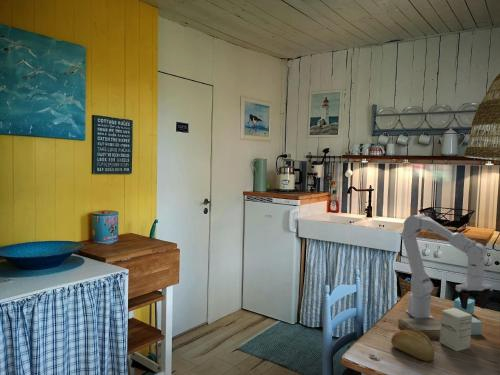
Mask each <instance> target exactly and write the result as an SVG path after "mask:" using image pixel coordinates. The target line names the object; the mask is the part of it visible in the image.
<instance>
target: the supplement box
mask: <svg viewBox="0 0 500 375" xmlns="http://www.w3.org/2000/svg"><path fill="white" fill-rule="evenodd" d="M472 317H473V314H468V313H466V312H463V311H461V310H459V309H456V308H454V307H452V308H447V309H442V310H441V318H440V319H441V320H440V323H441V329H440V338H439V343H440V344H442V345H443V346H446V347H448V348H450V349H451V350H453V351H455V352H459V351H463V350H466V349H470V348H471V345H470V344H471V337H472V336H471V324H472Z"/></svg>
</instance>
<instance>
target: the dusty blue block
mask: <svg viewBox="0 0 500 375" xmlns="http://www.w3.org/2000/svg"><path fill="white" fill-rule="evenodd" d="M482 329H483V321H481V320H479V319H478V318H476V317H475V316H472V324H471V335H473V336H474V335H476V336H477V335H482Z"/></svg>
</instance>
